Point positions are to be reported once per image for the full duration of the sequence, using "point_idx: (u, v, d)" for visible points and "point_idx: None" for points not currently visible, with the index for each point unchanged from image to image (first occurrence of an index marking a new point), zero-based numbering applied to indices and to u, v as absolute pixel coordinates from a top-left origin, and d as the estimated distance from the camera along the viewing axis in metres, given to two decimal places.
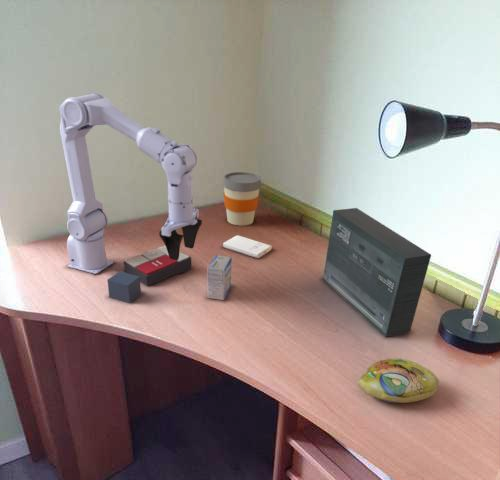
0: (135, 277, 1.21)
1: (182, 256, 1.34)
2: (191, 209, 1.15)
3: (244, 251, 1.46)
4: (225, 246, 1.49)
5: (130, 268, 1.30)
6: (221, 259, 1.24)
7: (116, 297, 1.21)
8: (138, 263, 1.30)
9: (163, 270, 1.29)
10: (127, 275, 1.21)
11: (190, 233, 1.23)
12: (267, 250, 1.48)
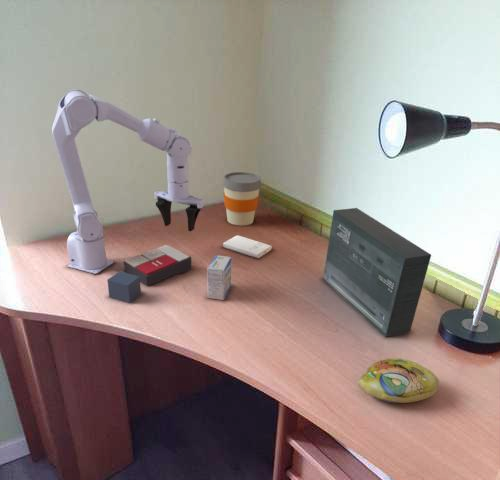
0: (135, 277, 1.21)
1: (182, 256, 1.34)
2: None
3: (244, 251, 1.46)
4: (225, 246, 1.49)
5: (130, 268, 1.30)
6: (221, 259, 1.24)
7: (116, 297, 1.21)
8: (138, 263, 1.30)
9: (163, 270, 1.29)
10: (127, 275, 1.21)
11: (168, 211, 1.39)
12: (267, 250, 1.48)
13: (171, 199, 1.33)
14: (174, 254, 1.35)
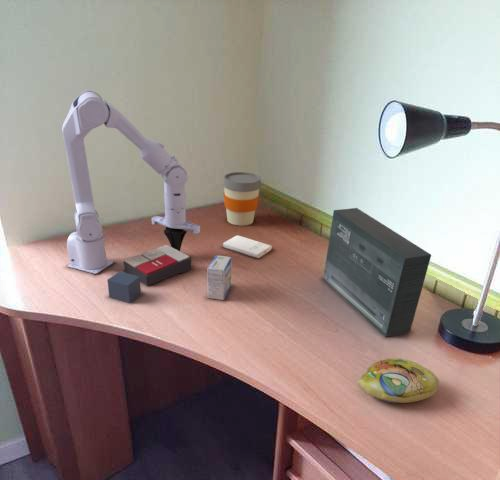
0: (135, 277, 1.21)
1: (182, 256, 1.34)
2: None
3: (244, 251, 1.46)
4: (225, 246, 1.49)
5: (130, 268, 1.30)
6: (221, 259, 1.24)
7: (116, 297, 1.21)
8: (138, 263, 1.30)
9: (163, 270, 1.29)
10: (127, 275, 1.21)
11: None
12: (267, 250, 1.48)
13: (168, 225, 1.35)
14: (174, 254, 1.35)
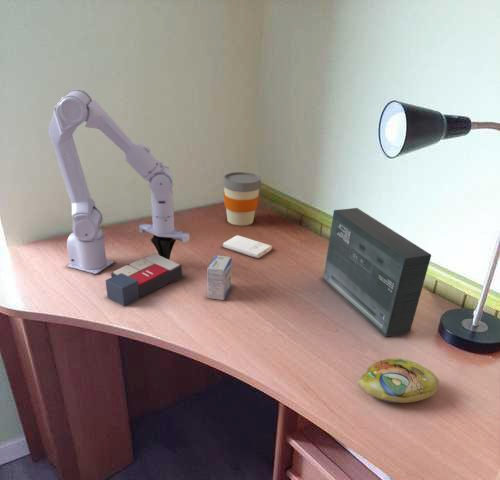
0: (133, 281, 1.19)
1: (172, 264, 1.30)
2: None
3: (244, 251, 1.46)
4: (225, 246, 1.49)
5: None
6: (221, 259, 1.24)
7: (113, 298, 1.20)
8: (128, 274, 1.25)
9: (155, 280, 1.24)
10: (126, 278, 1.20)
11: None
12: (267, 250, 1.48)
13: (156, 233, 1.30)
14: (164, 263, 1.30)
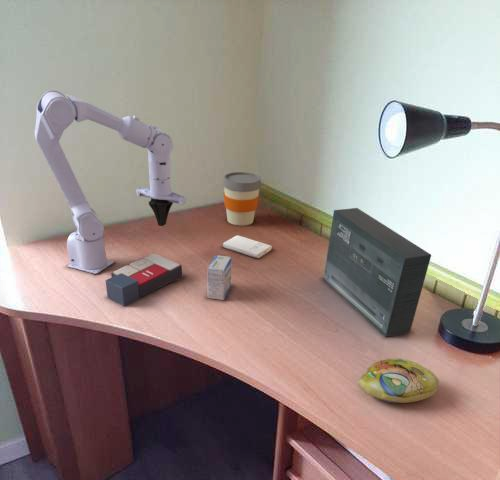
0: (133, 281, 1.19)
1: (172, 264, 1.30)
2: None
3: (244, 251, 1.46)
4: (225, 246, 1.49)
5: None
6: (221, 259, 1.24)
7: (113, 298, 1.20)
8: (128, 274, 1.25)
9: (155, 280, 1.24)
10: (126, 278, 1.20)
11: None
12: (267, 250, 1.48)
13: (153, 196, 1.32)
14: (164, 263, 1.30)
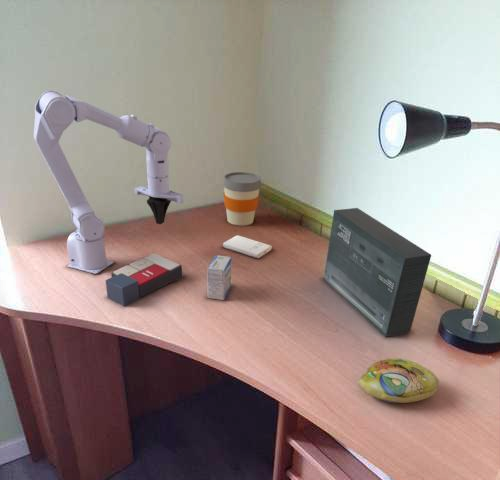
0: (133, 281, 1.19)
1: (172, 264, 1.30)
2: None
3: (244, 251, 1.46)
4: (225, 246, 1.49)
5: None
6: (221, 259, 1.24)
7: (113, 298, 1.20)
8: (128, 274, 1.25)
9: (155, 280, 1.24)
10: (126, 278, 1.20)
11: None
12: (267, 250, 1.48)
13: (151, 194, 1.32)
14: (164, 263, 1.30)
